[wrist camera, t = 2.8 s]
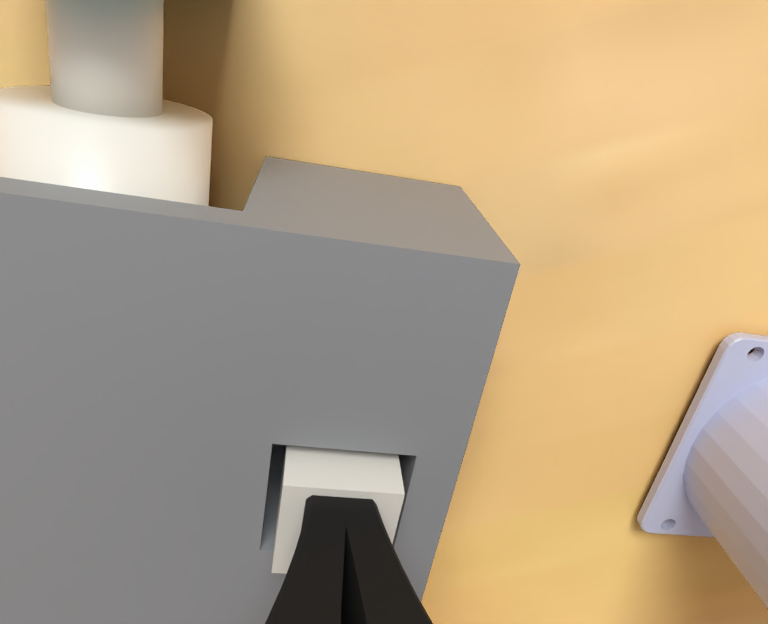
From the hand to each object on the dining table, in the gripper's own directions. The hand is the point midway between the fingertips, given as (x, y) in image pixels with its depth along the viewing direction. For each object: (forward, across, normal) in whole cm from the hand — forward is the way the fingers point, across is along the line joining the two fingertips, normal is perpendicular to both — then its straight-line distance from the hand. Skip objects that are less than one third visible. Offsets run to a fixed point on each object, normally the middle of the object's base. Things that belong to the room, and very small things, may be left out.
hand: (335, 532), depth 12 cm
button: (+2, 0, 0) cm, 2 cm away
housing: (+6, +4, 0) cm, 8 cm away
